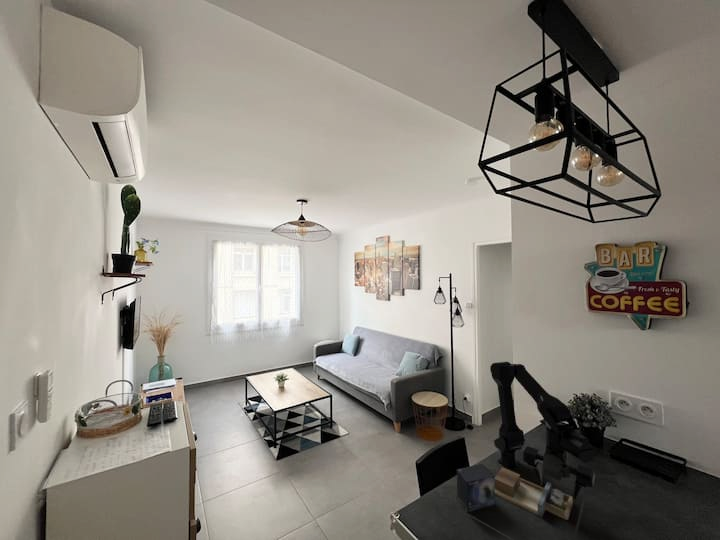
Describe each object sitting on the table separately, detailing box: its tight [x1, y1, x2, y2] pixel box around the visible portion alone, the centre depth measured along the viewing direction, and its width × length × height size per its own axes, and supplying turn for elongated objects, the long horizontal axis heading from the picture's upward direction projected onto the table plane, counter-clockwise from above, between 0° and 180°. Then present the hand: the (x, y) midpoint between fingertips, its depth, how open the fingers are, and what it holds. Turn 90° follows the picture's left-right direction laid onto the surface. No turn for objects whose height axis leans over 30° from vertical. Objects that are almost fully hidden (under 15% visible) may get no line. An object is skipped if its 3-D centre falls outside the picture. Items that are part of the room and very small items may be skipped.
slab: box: [495, 466, 521, 497], centre depth 103 cm, size 8×6×4 cm
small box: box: [456, 463, 496, 514], centre depth 97 cm, size 11×6×10 cm, turn 105°
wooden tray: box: [495, 477, 574, 521], centre depth 98 cm, size 13×22×4 cm, turn 46°
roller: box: [549, 488, 565, 509], centre depth 95 cm, size 4×5×4 cm
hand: (557, 491), depth 94 cm, fingers open, 9 cm apart
